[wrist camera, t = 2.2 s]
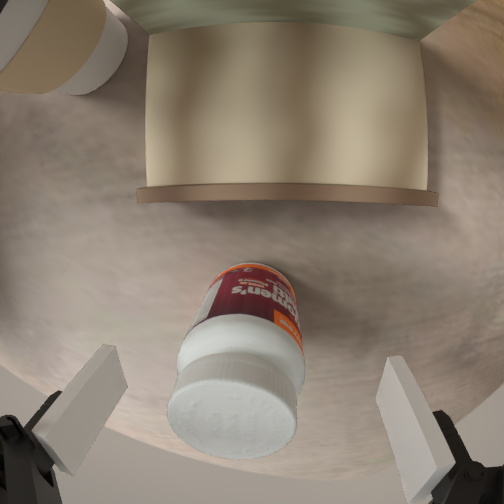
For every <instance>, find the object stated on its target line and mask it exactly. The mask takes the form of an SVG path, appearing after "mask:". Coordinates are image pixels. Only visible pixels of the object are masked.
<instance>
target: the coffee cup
mask: <svg viewBox="0 0 504 504" xmlns="http://www.w3.org/2000/svg"><path fill="white" fill-rule="evenodd" d="M127 45H128V34H127V30H126V28H125V26H124V25H123V24H122V22H121V21H120V20H119V19H118V18H117V17H116V16H115V15H114V14H113V13H112V12H111V11H110V10H109V9H108V8H107V7H106V6H105V3H104V1H103V0H0V92H11V93H35V94H42V93H47V92H48V93H58V94H67V95H84V94H87V93H90V92H92V91H94V90H96V89H97V88H99V87H100V86H102V85H103V84H104V83H105V82H106V81H107V80H108V79H109V78H110V77H111V76H112V75H113V74H114V73H115V71H116V70H117V69H118V67H119V66H120V64H121V62H122V60H123V58H124V56H125V53H126V50H127Z"/></svg>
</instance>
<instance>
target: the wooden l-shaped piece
mask: <svg viewBox="0 0 504 504" xmlns="http://www.w3.org/2000/svg"><path fill="white" fill-rule="evenodd" d="M110 1H111V2H113V3H114V4H115V5H116V6H117V7H118V8H120V9H121V10H122V11H123V12H124V13H125V14H127V15H128V16H129V17H130V18H131V19H132V20H133V21H134V22H136V23H137V24H138V25H139V26H140V27H141V28H142V29H143V30H144V31H145V32H147V33H148V34H149V45H148V59H147V77H146V112H145V138H146V175H147V187H143V188H139V189H137V203H152V202H176V201H210V200H312V201H346V202H370V203H389V204H405V205H420V206H433V207H438V194H439V193H436V192H432V191H428V190H427V174H428V126H427V106H426V92H425V81H424V72H423V64H422V57H421V50H420V44H419V41H420V40H421V39H423V38H424V37H425V36H427V35H428V34H429V33H431V32H432V31H434V30H435V29H436V28H438V27H439V26H440V25H442V24H443V23H445V22H446V21H447V20H449V19H450V18H452V17H453V16H455V15H456V14H457V13H459V12H460V11H462V10H463V9H465V8H466V7H468V6H469V5H471V4H472V3H474V2H475V1H477V0H110Z"/></svg>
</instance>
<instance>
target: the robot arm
mask: <svg viewBox="0 0 504 504" xmlns="http://www.w3.org/2000/svg"><path fill="white" fill-rule="evenodd" d="M126 389H127V383H126V380H125V377H124V374H123V371H122V367H121V364H120V360H119V357H118V353H117V350H116V346H112V345H106V344H103V345H102V346H101V347H100V348H99V350H98V351H97V352H96V353H95V354H94V355H93V356H92V358H91V359H90V360H89V361H88V362H87V363H86V365H85V366H84V367H83V368H82V369H81V370H80V372H79V373H78V374H77V375H76V376H75V377H74V379H73V380H72V381H71V382H70V383H69V385H68V386H67V387H66V388H65V389H64V391H63V392H62V391H59V390H58V391H57V392H55V393H54V394H52V395H50V396H49V398H48V399H47V400H46V401H45V402H44V404H43V405H42V406H41V407H40V410H38V411H37V412H36V413H35V414H34V416H33V417H32V418H31V419H30V421H29V422H28V423H27V424H26V426H25V427H24V428H23V427H22V425H21V424H20V422H19V421H18V419H17V418H16V417H15V416H13V415H5V416H2V417H0V504H62V500H61V497H60V493H59V489H58V486H57V481H56V477H55V473H54V470H53V468H52V466H53V465H54V463H55V464H56V466H57V467H58V468H59V469H60V470H61V471H62V472H65V473H67V474H69V475H71V476H75V474H76V472H77V470H78V469H79V467H80V465H81V463H82V462H83V460H84V458H85V456H86V455H87V453H88V451H89V450H90V448H91V446H92V445H93V443H94V441H95V439H96V438H97V436H98V434H99V433H100V431H101V429H102V428H103V426H104V424H105V423H106V421H107V420H108V418H109V416H110V415H111V413H112V411H113V410H114V408H115V406H116V405H117V403H118V402H119V400H120V398H121V397H122V395H123V393H124V392H125V390H126ZM375 399H376V402H377V405H378V408H379V411H380V414H381V417H382V420H383V423H384V426H385V429H386V432H387V435H388V438H389V441H390V444H391V448H392V451H393V454H394V457H395V461H396V464H397V467H398V471H399V474H400V478H401V481H402V485H403V489H404V492H405V496H406V500H407V503H408V504H410V503H413V502H417V501H421V500H424V499H425V498H426V497H427V496H428V495H429V494H430V493H431V494H432V497H433V499H432V500H431V501H430V502H429V503H428V504H504V464H503V466H499V467H488V468H487V467H484V466H483V465H482V464H481V463H479V462H477V461H472V459H471V458H470V456H469V454H468V452H467V450H466V447H465V446H464V444H463V441H462V439H461V438H460V436H459V435H458V432H457V430H456V428H454V424H453V422H452V420H451V418H450V417H449V416H448V415H447V414H446V413H445V412H443V411H442V410H440V411H435V412H432V411H431V409H430V407H429V405H428V403H427V401H426V399H425V397H424V395H423V393H422V391H421V390H420V388H419V386H418V384H417V382H416V380H415V378H414V376H413V375H412V373H411V371H410V369H409V367H408V366H407V364H406V362H405V360H404V358H403V357H402V355H400V356H389V357H387V360H386V364H385V368H384V371H383V375H382V378H381V382H380V385H379V388H378V391H377V395H376V398H375Z"/></svg>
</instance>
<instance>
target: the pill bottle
mask: <svg viewBox="0 0 504 504" xmlns="http://www.w3.org/2000/svg"><path fill="white" fill-rule="evenodd" d="M177 373H178V378H177V380H176V383H175V386H174V389H173V392H172V394H171V397H170V400H169V402H168V407H167V417H168V420H169V423H170V425H171V427H172V429H173V430H174V432H175V433H176V434H177V435H178V436H179V437H180V438H181V439H182V440H183V441H184V442H186V443H187V444H188V445H190V446H191V447H193V448H195V449H197V450H199V451H201V452H203V453H206V454H209V455H212V456H216V457H220V458H226V459H236V460H245V459H255V458H260V457H264V456H267V455H270V454H273V453H275V452H277V451H279V450H280V449H282V448H283V447H285V446H286V445H287V444H288V443H289V442H290V441H291V439H292V438H293V436H294V434H295V432H296V428H297V409H296V406H297V399H296V397H297V396H298V395H299V393H300V391H301V389H302V386H303V383H304V378H305V361H304V355H303V347H302V336H301V329H300V322H299V317H298V310H297V303H296V297H295V293H294V291H293V288H292V286H291V284H290V283H289V281H288V280H287V279H286V278H285V277H284V276H283V275H282V274H281V273H280V272H278V271H277V270H276V269H274V268H272V267H269V266H267V265H264V264H260V263H253V262H249V263H241V264H237V265H234V266H231V267H229V268H227V269H226V270H224V271H223V272H221V273H220V274H219V275H218V276H217V277H216V278H215V280H214V281H213V282H212V284H211V286H210V288H209V290H208V292H207V294H206V296H205V297H204V300H203V302H202V304H201V306H200V308H199V310H198V312H197V314H196V316H195V318H194V320H193V322H192V324H191V326H190V328H189V330H188V332H187V334H186V336H185V338H184V340H183V342H182V345H181V348H180V350H179V354H178V357H177Z"/></svg>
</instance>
